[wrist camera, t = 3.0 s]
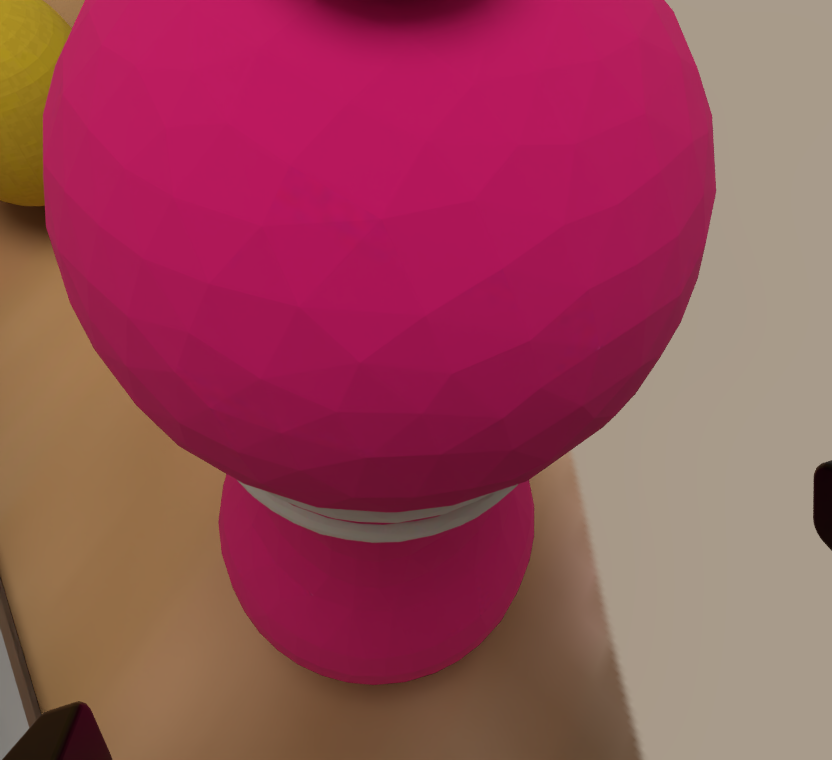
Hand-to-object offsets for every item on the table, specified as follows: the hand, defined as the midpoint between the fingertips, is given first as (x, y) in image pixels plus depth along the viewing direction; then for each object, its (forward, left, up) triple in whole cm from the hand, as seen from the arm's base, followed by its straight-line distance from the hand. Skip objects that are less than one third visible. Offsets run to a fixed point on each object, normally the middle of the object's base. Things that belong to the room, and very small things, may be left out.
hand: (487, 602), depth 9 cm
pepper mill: (+4, 0, -13) cm, 13 cm away
